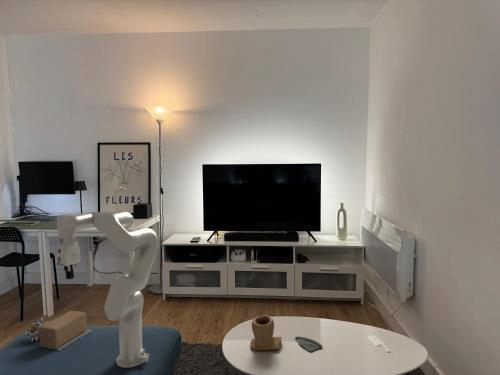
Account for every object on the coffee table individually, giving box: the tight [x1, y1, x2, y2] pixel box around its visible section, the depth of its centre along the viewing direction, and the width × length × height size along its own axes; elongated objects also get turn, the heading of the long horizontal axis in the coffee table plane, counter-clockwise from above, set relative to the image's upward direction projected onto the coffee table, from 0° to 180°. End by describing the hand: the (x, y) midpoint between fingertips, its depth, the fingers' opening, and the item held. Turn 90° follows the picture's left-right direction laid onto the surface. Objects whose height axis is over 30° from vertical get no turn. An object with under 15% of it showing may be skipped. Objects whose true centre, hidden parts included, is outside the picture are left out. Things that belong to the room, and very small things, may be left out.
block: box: [38, 310, 87, 350], centre depth 169 cm, size 10×10×20 cm
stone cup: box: [250, 314, 283, 351], centre depth 160 cm, size 15×12×15 cm
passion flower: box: [24, 316, 49, 343], centre depth 171 cm, size 11×11×12 cm
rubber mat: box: [54, 328, 94, 352], centre depth 170 cm, size 12×20×1 cm, turn 161°
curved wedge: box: [294, 335, 323, 353], centre depth 163 cm, size 8×14×2 cm, turn 31°
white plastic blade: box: [367, 334, 392, 353], centre depth 163 cm, size 5×15×1 cm, turn 5°
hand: (69, 278), depth 161 cm, fingers closed
